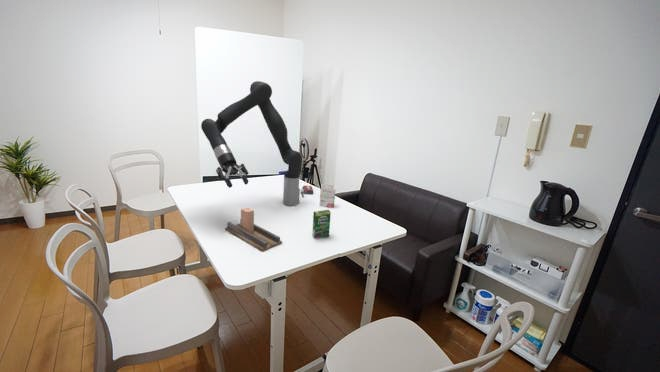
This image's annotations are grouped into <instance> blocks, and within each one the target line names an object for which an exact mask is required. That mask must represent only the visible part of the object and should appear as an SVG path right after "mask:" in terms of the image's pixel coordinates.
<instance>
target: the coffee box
mask: <svg viewBox="0 0 660 372" xmlns="http://www.w3.org/2000/svg"><path fill="white" fill-rule="evenodd" d="M312 217H313V218H312V237H313V238H314V239H319V238H323V237H324V238H325V237H326V238H327V237H329V236H330V228H331V227H330V225H331V210H329V209H324V210H315V211H313V215H312Z"/></svg>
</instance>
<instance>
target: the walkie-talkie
mask: <svg viewBox="0 0 660 372" xmlns="http://www.w3.org/2000/svg"><path fill="white" fill-rule="evenodd" d="M300 194H301V196H302V197H304V195H313V194H314V189H313V187H312V185H303V186H302V188H301V189H300Z"/></svg>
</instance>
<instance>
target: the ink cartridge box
mask: <svg viewBox="0 0 660 372" xmlns="http://www.w3.org/2000/svg"><path fill="white" fill-rule="evenodd" d="M335 199H336V187H335V185H334V184H328V183H321V185H320V194H319V207H325V208H328V209H329V208H330V209H332V208H334V206H335V201H336V200H335Z"/></svg>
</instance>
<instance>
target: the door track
mask: <svg viewBox="0 0 660 372" xmlns="http://www.w3.org/2000/svg"><path fill="white" fill-rule="evenodd" d="M239 221H240V223H237V224H235V223H233V222H231V221H228V222H227V223H226V224H227V225H226V226H227V227H225V228H224V230H225V231H226V232H228V233H229V234H230V235H231V234H232V235H233V236H235V237H236V238H238V239H240V240H242V241H244V243H247V244H248V245H251V246H252V247H254V248H255V249H256V250H258V251H260V252H265V251H267V250H269V249H272V248H275V247H277V246H279V245H281V244H283V241H282V240H281V237H280V236H279V235H276V234H275V233H272V232H271V231H269V230H267V229H265V228H263V227H261V226H259V225H257V224H255V223H254V232H253V233H249V232H247V231H246V230H244V229H242V228H241V218H240V219H239Z"/></svg>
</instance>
